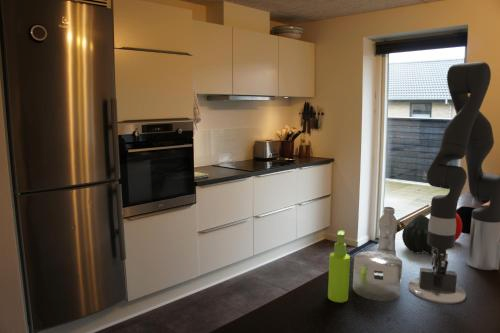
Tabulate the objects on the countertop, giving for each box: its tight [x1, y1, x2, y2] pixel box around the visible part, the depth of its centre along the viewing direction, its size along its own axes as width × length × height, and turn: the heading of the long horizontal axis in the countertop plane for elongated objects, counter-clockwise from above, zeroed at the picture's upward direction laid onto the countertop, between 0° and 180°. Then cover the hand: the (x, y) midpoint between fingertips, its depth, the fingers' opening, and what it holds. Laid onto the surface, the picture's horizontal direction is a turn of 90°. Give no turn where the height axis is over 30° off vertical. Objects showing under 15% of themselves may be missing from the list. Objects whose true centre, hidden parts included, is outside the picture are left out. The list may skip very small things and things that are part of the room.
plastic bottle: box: [376, 206, 398, 257], centre depth 150 cm, size 6×7×20 cm
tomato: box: [455, 212, 463, 241], centre depth 174 cm, size 13×11×14 cm
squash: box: [401, 213, 432, 256], centre depth 162 cm, size 14×15×15 cm
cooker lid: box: [408, 267, 467, 305], centre depth 127 cm, size 16×16×6 cm
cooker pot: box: [352, 250, 403, 302], centre depth 127 cm, size 14×21×10 cm
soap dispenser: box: [327, 229, 351, 303], centre depth 122 cm, size 6×7×20 cm
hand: (436, 284), depth 127 cm, fingers closed on cooker lid, 3 cm apart
